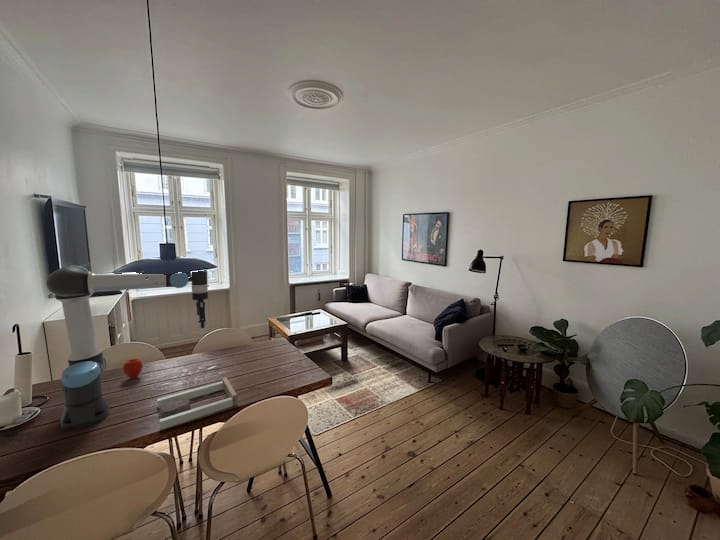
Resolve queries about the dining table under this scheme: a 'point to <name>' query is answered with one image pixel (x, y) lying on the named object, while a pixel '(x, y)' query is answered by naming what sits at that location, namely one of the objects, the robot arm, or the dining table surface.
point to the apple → (132, 368)
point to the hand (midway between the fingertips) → (201, 329)
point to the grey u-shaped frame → (200, 410)
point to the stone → (174, 408)
